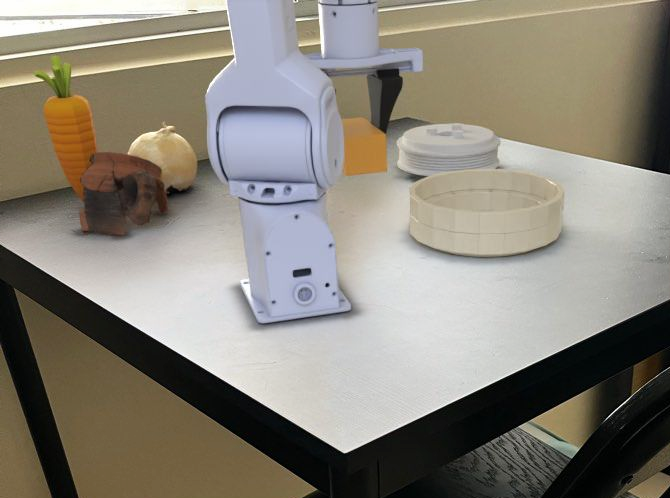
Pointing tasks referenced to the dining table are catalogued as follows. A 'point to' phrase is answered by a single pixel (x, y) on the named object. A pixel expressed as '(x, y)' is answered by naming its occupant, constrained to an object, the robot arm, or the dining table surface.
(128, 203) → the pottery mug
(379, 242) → the dining table surface
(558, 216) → the bowl
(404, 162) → the lid
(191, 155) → the onion
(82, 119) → the carrot
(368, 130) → the orange rectangular block
